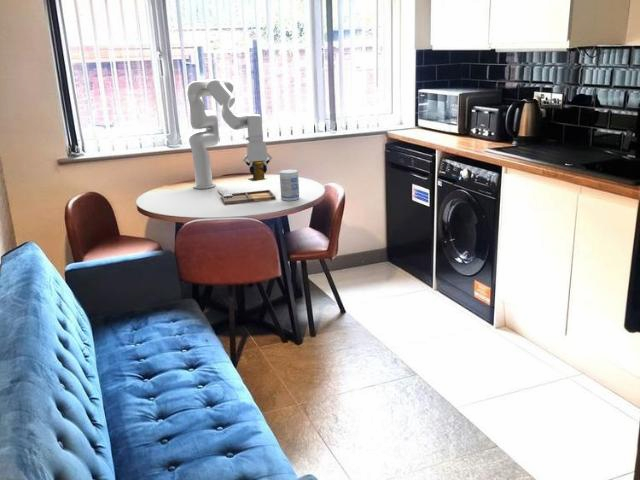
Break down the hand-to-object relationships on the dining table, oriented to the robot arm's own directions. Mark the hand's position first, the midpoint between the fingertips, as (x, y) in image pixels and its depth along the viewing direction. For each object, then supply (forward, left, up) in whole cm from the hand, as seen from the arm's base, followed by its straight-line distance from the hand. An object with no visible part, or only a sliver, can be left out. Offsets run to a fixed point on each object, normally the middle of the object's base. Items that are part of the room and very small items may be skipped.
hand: (258, 173), depth 309 cm
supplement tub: (+10, +14, -13) cm, 22 cm away
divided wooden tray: (0, -7, -13) cm, 15 cm away
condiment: (0, -1, -3) cm, 4 cm away
